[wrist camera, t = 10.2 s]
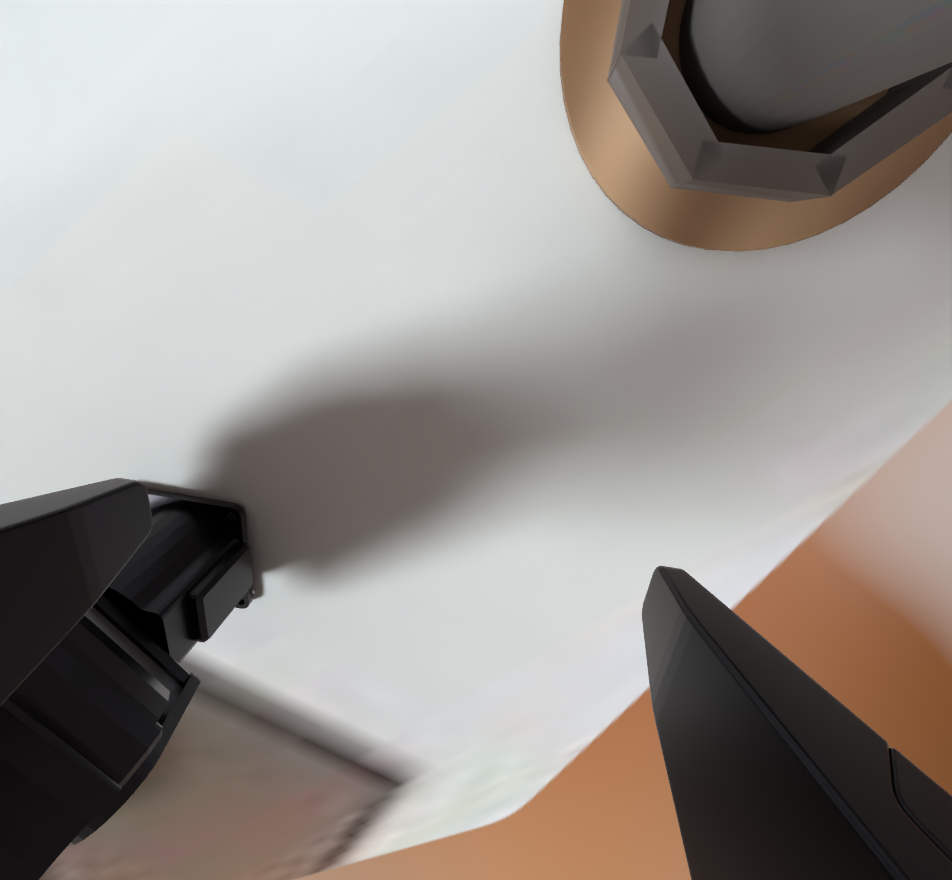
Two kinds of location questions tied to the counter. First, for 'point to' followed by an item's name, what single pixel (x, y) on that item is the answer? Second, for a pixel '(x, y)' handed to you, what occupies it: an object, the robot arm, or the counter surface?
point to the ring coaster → (727, 138)
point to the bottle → (804, 55)
